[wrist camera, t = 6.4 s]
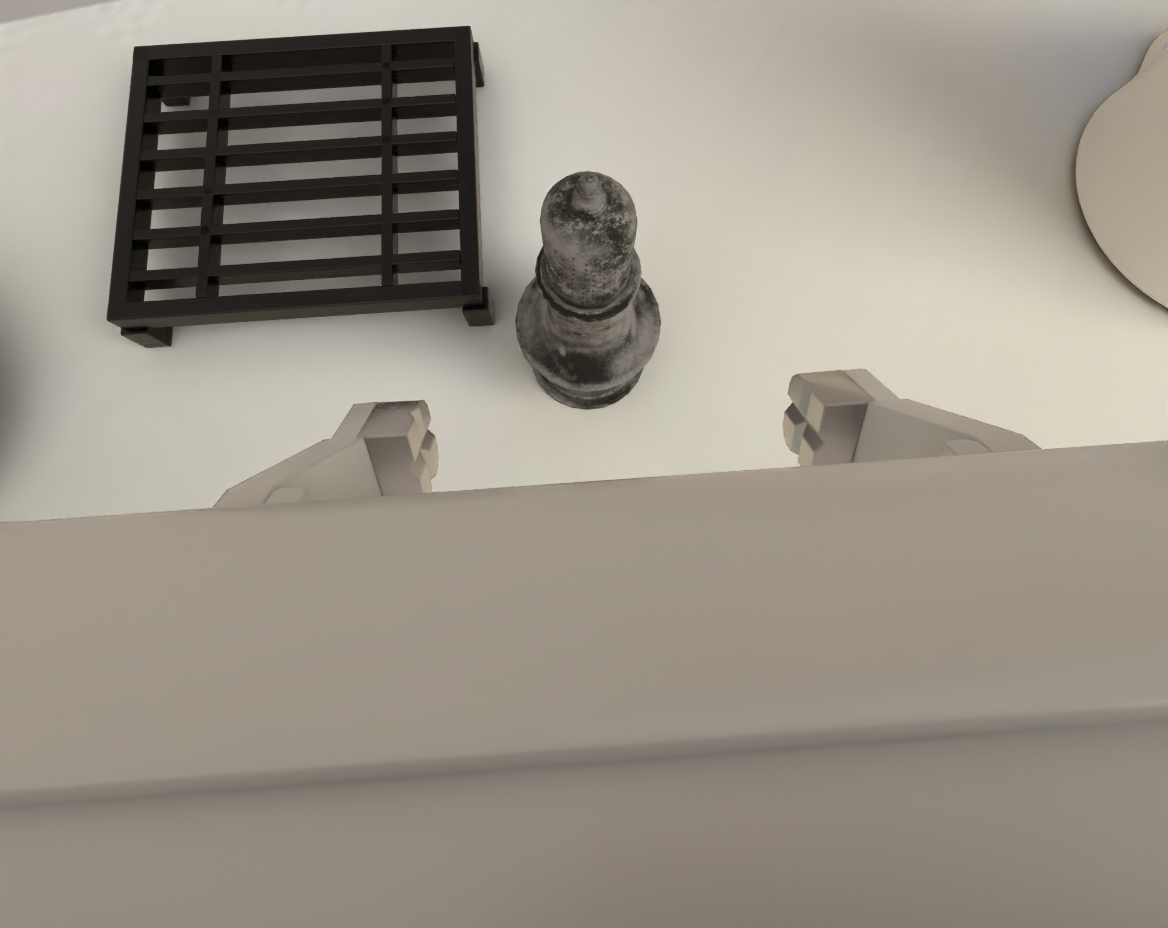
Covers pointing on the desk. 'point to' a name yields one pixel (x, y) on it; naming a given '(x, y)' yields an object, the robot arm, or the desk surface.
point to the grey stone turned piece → (588, 296)
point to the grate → (290, 68)
